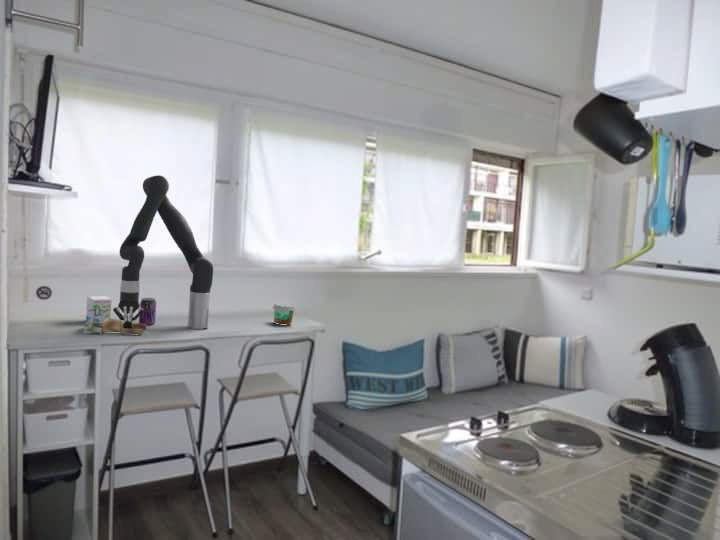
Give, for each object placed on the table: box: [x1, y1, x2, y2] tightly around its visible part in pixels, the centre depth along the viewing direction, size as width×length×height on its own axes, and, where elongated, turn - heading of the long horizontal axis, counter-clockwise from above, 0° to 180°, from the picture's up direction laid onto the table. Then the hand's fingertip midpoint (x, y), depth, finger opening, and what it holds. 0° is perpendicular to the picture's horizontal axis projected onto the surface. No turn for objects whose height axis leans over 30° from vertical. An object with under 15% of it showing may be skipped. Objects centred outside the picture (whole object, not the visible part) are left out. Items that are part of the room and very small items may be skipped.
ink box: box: [85, 295, 113, 322], centre depth 242 cm, size 8×8×12 cm
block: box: [101, 318, 124, 333], centre depth 229 cm, size 7×7×5 cm
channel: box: [83, 319, 148, 336], centre depth 229 cm, size 23×12×4 cm, turn 105°
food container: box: [272, 302, 296, 324], centre depth 276 cm, size 12×6×10 cm, turn 68°
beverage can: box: [138, 297, 157, 326], centre depth 248 cm, size 7×7×12 cm
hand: (127, 329), depth 230 cm, fingers closed
